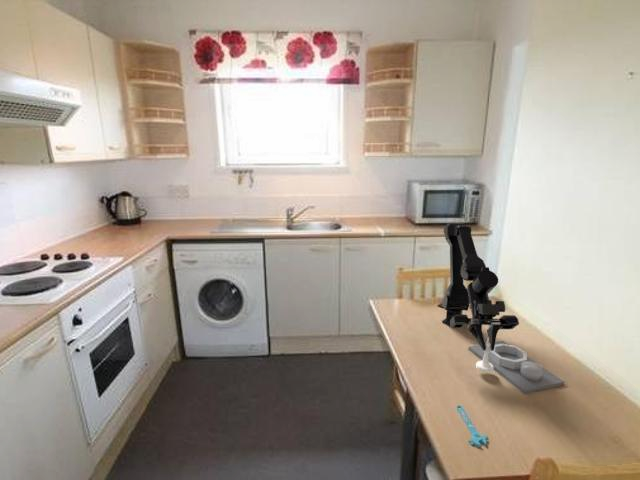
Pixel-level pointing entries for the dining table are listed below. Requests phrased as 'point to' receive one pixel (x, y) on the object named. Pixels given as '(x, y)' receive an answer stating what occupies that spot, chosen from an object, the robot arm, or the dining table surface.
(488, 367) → the chess piece
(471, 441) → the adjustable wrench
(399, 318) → the dining table surface
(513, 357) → the carrier plate
